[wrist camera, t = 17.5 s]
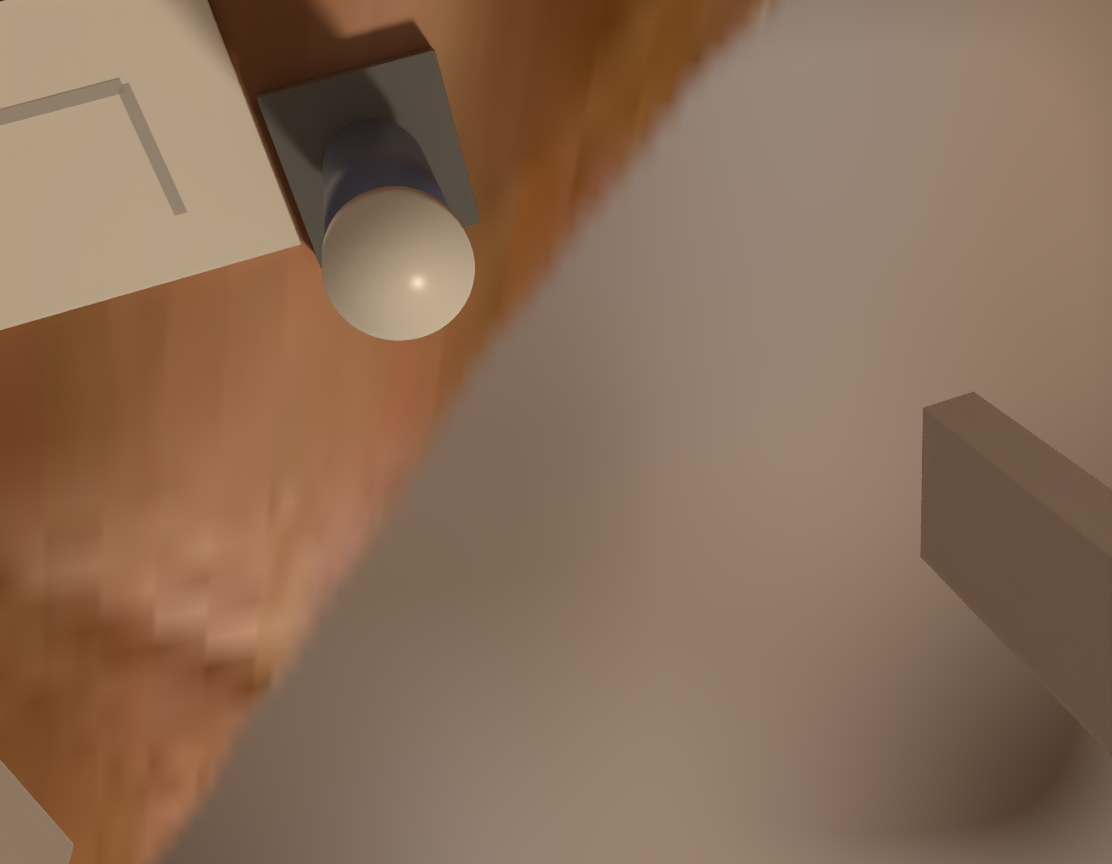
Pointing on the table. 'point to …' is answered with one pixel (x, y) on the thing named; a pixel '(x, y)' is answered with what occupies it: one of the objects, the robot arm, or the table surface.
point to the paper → (123, 154)
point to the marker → (390, 235)
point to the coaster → (356, 94)
